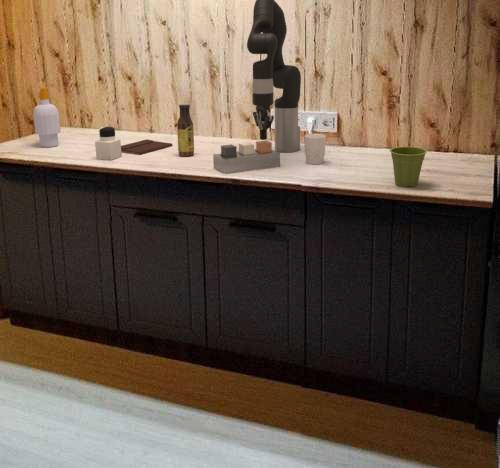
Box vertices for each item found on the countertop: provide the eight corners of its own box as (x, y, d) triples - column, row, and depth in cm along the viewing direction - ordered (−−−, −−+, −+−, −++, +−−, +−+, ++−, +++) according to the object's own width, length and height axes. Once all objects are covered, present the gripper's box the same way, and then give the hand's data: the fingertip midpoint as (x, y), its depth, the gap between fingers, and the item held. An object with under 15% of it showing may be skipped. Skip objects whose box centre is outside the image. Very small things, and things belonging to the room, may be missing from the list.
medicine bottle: (122, 156, 287) (119, 126, 283) (111, 160, 280) (108, 129, 277) (107, 155, 289) (104, 125, 286) (96, 159, 283) (93, 128, 279)
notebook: (172, 147, 304) (172, 142, 303) (139, 156, 289) (139, 151, 288) (146, 143, 312) (145, 139, 312) (112, 152, 297) (112, 147, 296)
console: (267, 160, 275) (267, 147, 273) (280, 166, 266) (280, 152, 264) (213, 167, 266) (213, 154, 264) (224, 173, 257) (224, 159, 256)
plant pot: (384, 187, 236) (386, 153, 232) (391, 178, 246) (393, 145, 242) (422, 190, 232) (424, 155, 228) (427, 181, 242) (429, 147, 238)
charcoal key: (231, 153, 264) (231, 144, 263) (236, 156, 261) (236, 146, 259) (221, 155, 262) (220, 145, 261) (225, 157, 259) (225, 147, 258)
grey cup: (327, 160, 273) (328, 134, 270) (322, 165, 266) (323, 138, 263) (307, 159, 276) (307, 133, 272) (301, 164, 269) (301, 137, 265)
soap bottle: (67, 144, 311) (61, 87, 303) (48, 149, 303) (42, 90, 295) (50, 142, 316) (44, 86, 308) (31, 146, 308) (24, 89, 300)
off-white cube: (249, 151, 267) (249, 142, 266) (254, 154, 263) (254, 144, 262) (238, 153, 265) (238, 143, 264) (243, 155, 262) (243, 145, 261)
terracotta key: (266, 149, 270) (266, 140, 269) (271, 151, 266) (271, 142, 265) (256, 151, 268) (256, 141, 267) (261, 153, 264) (261, 143, 263)
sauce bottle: (191, 157, 283) (189, 105, 277) (176, 156, 284) (173, 105, 278) (196, 153, 289) (194, 103, 283) (181, 153, 290) (178, 103, 284)
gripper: (280, 92, 256) (281, 141, 262) (264, 88, 267) (264, 135, 273) (261, 94, 253) (262, 143, 258) (245, 90, 264) (246, 137, 270)
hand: (263, 139), depth 266 cm, fingers closed
